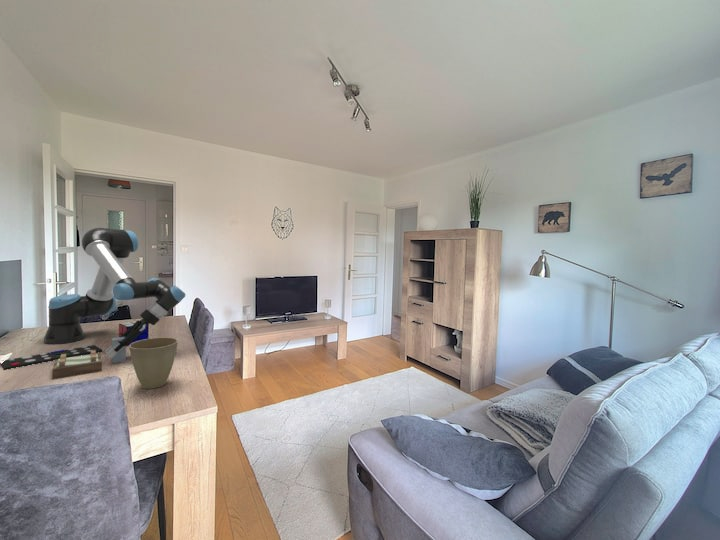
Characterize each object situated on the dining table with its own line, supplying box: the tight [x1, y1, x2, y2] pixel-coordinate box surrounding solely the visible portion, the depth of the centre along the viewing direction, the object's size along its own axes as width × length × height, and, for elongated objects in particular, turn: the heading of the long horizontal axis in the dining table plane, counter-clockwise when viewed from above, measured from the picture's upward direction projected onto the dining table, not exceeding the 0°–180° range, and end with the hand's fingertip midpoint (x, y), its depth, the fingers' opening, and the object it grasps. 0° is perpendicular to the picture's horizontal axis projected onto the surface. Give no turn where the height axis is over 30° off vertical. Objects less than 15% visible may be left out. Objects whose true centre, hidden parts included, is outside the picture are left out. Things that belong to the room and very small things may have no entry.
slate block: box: [111, 336, 127, 364], centre depth 133 cm, size 4×4×10 cm
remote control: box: [0, 344, 104, 371], centre depth 134 cm, size 11×30×2 cm, turn 146°
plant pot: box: [128, 336, 179, 390], centre depth 112 cm, size 15×15×16 cm
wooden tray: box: [52, 350, 103, 380], centre depth 122 cm, size 13×14×6 cm
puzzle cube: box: [118, 320, 150, 346], centre depth 160 cm, size 10×10×10 cm
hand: (107, 355), depth 131 cm, fingers open, 4 cm apart
